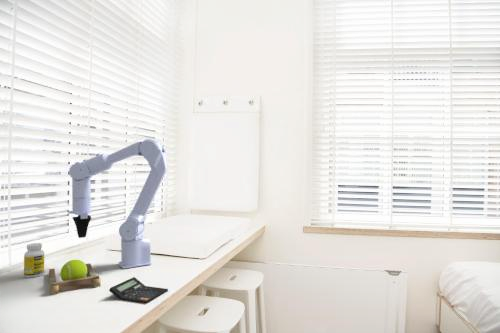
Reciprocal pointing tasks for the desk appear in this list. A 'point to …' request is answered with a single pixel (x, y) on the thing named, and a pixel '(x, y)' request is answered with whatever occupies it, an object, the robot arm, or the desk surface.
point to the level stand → (73, 281)
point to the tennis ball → (73, 270)
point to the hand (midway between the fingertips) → (82, 237)
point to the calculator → (136, 291)
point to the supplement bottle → (34, 260)
